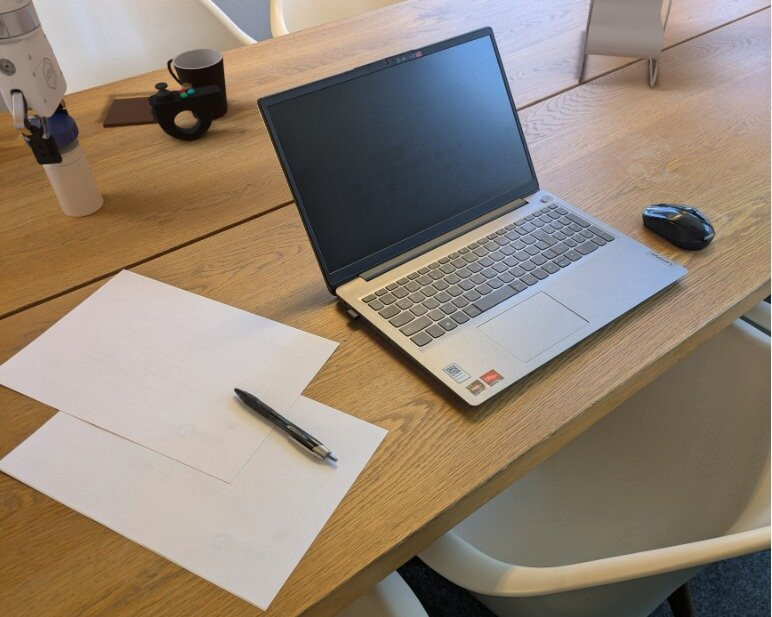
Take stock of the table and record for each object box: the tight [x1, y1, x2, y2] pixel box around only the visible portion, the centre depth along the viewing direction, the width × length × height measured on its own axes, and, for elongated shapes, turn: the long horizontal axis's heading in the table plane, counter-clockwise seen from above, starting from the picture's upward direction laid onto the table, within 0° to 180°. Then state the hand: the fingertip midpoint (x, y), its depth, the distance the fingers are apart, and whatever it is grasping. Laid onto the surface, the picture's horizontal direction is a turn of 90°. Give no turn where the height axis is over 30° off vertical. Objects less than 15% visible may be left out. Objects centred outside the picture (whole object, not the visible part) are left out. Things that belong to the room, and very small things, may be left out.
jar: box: [41, 138, 105, 218], centre depth 97 cm, size 6×6×10 cm
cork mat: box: [102, 96, 158, 128], centre depth 122 cm, size 10×10×1 cm
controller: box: [148, 81, 225, 141], centre depth 111 cm, size 4×12×10 cm, turn 111°
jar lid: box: [22, 114, 80, 148], centre depth 92 cm, size 7×7×2 cm
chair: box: [577, 0, 673, 89], centre depth 124 cm, size 13×25×20 cm, turn 165°
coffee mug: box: [166, 48, 229, 121], centre depth 118 cm, size 12×9×10 cm
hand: (57, 148), depth 93 cm, fingers closed on jar lid, 6 cm apart
